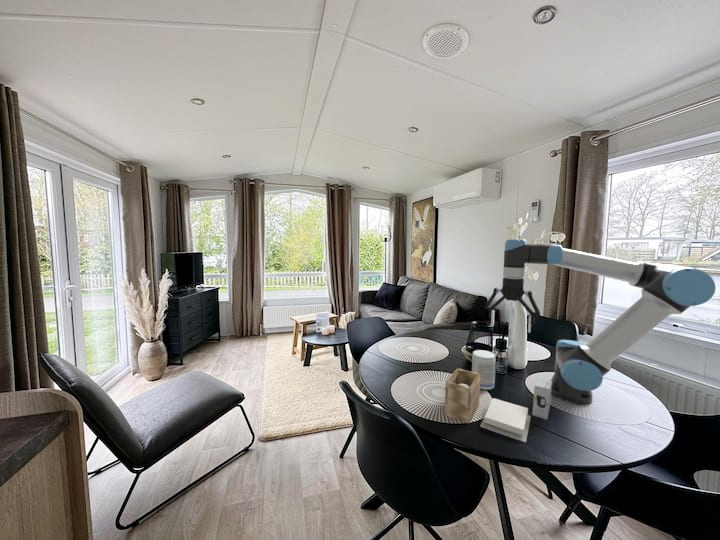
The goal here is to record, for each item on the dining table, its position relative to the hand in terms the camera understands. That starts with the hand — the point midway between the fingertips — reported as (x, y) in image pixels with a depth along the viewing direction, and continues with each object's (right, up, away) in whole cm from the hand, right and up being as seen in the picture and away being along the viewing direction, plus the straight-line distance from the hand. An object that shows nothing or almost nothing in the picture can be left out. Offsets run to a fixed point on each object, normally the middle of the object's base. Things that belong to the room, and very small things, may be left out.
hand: (510, 328), depth 120 cm
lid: (-9, -29, -15) cm, 34 cm away
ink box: (+7, -30, -9) cm, 32 cm away
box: (-23, -30, -8) cm, 38 cm away
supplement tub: (-7, -28, +11) cm, 31 cm away
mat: (-9, -30, -15) cm, 35 cm away
